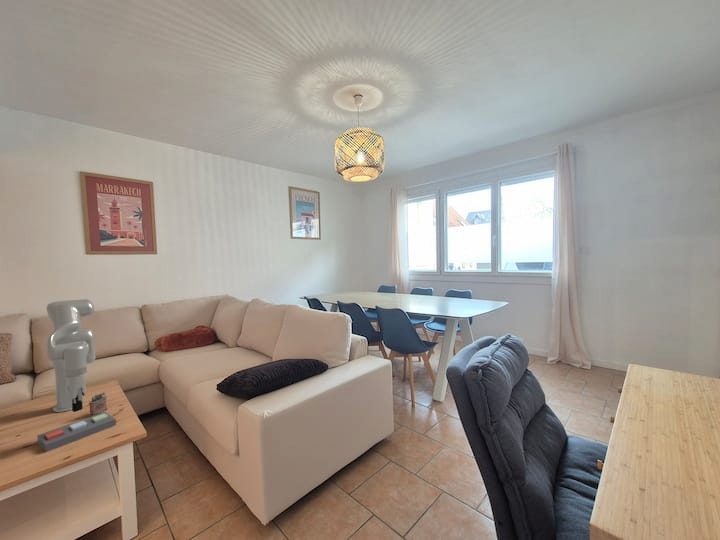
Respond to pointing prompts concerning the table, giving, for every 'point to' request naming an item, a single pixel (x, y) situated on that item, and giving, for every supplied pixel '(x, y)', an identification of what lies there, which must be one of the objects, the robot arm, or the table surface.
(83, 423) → the bluegrey button
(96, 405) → the lighter
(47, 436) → the red button
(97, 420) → the sage button
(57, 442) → the button panel
